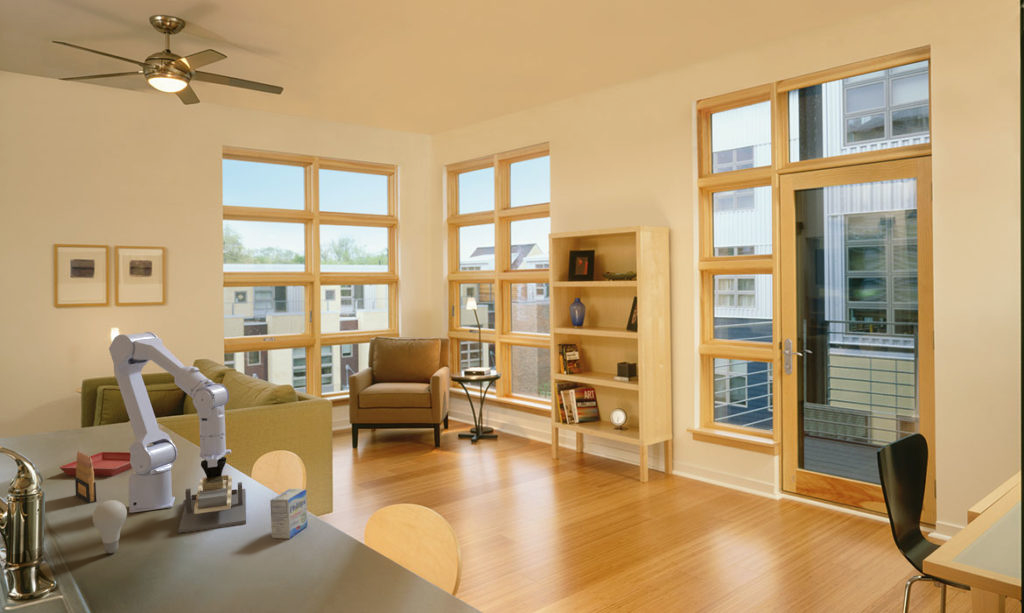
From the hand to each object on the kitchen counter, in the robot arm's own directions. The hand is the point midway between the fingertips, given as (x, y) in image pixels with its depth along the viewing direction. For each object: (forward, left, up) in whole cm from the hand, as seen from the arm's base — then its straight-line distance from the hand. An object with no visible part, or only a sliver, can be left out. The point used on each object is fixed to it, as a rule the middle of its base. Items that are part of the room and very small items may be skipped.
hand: (214, 488), depth 160 cm
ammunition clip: (-32, +25, -6) cm, 41 cm away
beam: (0, -1, -1) cm, 1 cm away
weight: (0, -3, -1) cm, 3 cm away
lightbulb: (-19, -20, -6) cm, 28 cm away
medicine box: (+16, -24, -6) cm, 29 cm away
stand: (0, -1, -5) cm, 5 cm away
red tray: (-32, +56, -6) cm, 65 cm away
